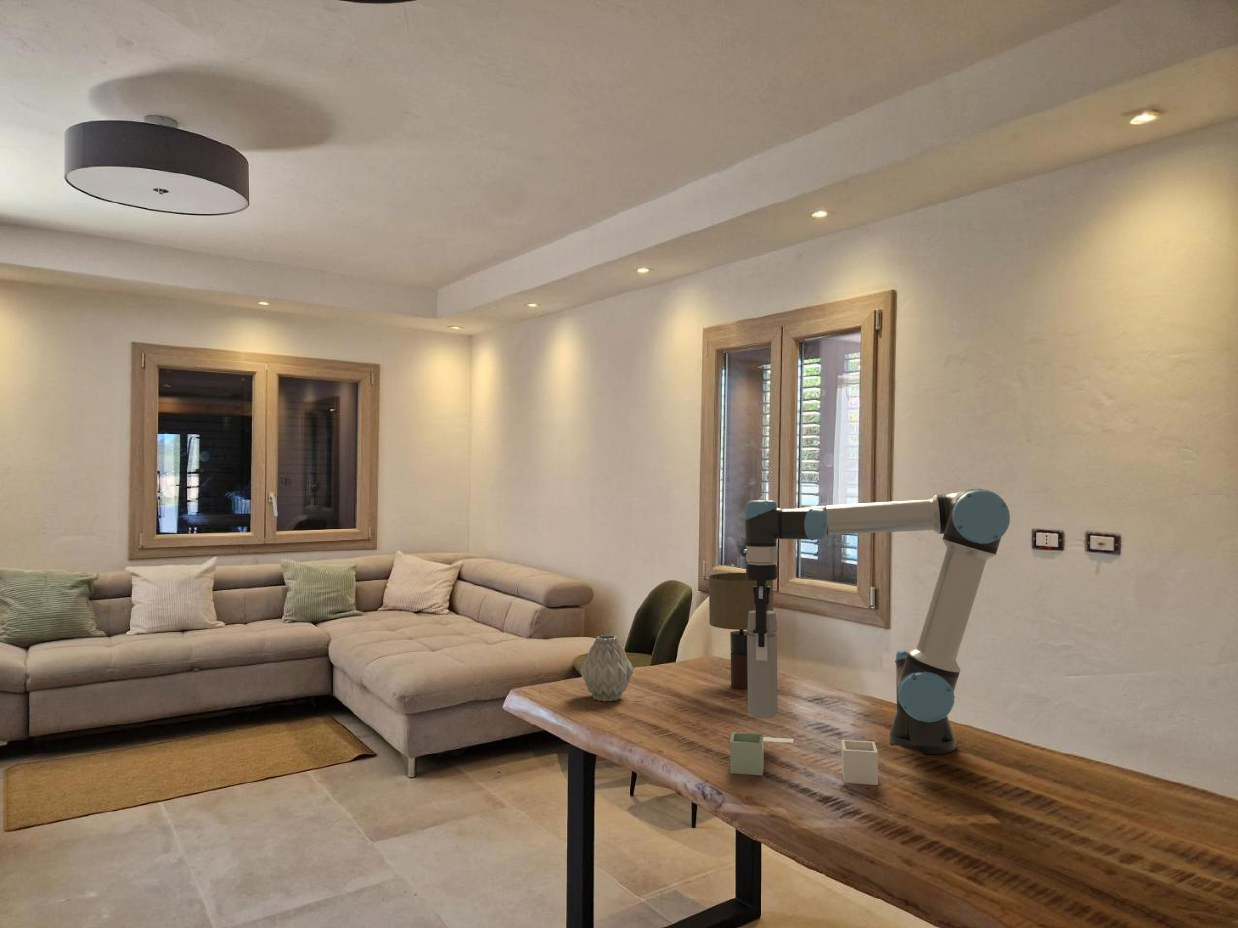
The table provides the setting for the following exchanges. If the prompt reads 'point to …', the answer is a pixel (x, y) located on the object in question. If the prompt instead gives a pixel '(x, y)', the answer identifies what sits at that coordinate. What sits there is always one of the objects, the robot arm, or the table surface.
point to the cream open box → (859, 762)
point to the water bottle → (762, 670)
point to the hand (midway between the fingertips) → (762, 655)
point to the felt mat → (778, 739)
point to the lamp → (734, 616)
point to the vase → (607, 669)
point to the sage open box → (747, 753)
